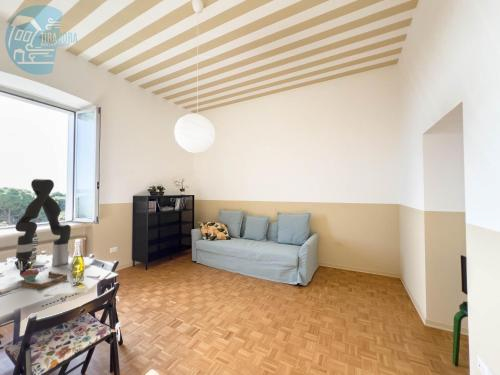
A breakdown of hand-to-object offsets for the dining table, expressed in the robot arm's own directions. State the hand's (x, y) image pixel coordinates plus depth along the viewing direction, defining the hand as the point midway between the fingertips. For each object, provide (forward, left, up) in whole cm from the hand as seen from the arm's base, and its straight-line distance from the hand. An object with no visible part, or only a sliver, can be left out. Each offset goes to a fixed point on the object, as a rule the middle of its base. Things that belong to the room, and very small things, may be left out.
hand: (22, 275), depth 142 cm
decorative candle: (-27, -36, -3) cm, 45 cm away
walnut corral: (0, +20, -2) cm, 20 cm away
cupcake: (0, +6, -3) cm, 7 cm away
